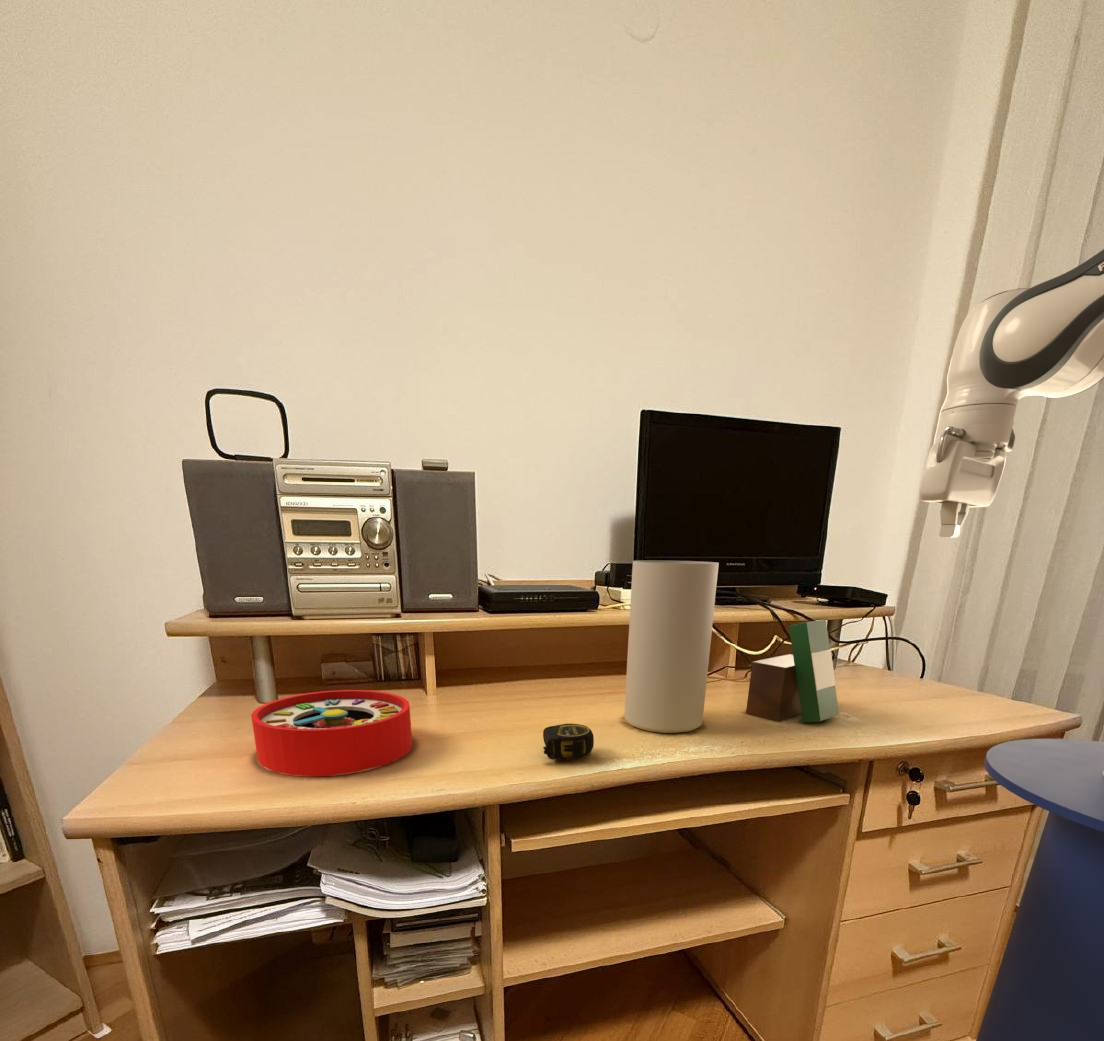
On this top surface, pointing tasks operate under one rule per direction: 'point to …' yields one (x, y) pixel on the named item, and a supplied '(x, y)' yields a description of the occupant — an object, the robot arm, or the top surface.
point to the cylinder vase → (669, 644)
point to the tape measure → (568, 741)
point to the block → (773, 689)
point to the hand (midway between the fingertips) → (948, 537)
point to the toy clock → (332, 732)
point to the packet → (814, 670)
